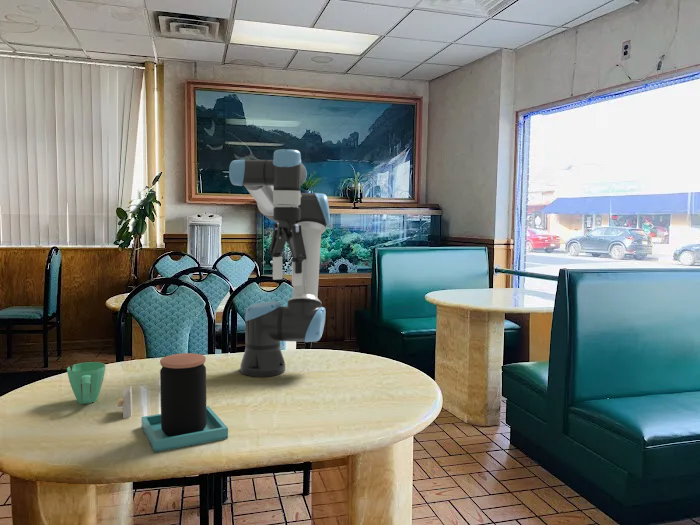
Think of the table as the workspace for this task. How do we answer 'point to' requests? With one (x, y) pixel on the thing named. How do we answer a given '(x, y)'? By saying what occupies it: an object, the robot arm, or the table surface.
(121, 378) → the table surface
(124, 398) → the architectural model
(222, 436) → the tray
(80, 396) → the mug
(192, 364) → the coffee jar
